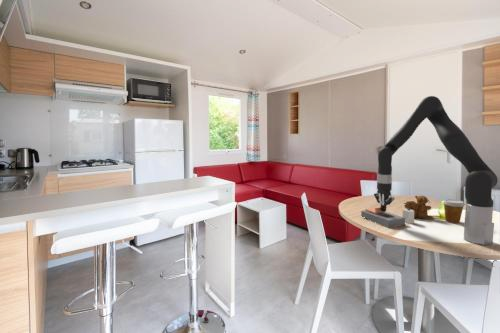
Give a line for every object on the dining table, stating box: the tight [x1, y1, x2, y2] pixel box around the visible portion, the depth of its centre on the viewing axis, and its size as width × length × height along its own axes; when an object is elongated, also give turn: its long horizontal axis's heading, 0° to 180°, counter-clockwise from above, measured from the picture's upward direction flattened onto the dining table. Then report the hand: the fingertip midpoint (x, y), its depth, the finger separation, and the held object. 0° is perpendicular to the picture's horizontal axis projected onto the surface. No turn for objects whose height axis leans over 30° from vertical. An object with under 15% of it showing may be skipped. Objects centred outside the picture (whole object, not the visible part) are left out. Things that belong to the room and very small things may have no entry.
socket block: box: [360, 209, 406, 229], centre depth 147 cm, size 20×12×4 cm, turn 18°
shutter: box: [364, 206, 387, 214], centre depth 152 cm, size 8×7×4 cm
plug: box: [402, 208, 415, 224], centre depth 144 cm, size 4×4×8 cm
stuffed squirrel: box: [403, 195, 434, 220], centre depth 152 cm, size 10×14×13 cm
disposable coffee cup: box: [442, 198, 466, 224], centre depth 143 cm, size 10×10×12 cm
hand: (383, 211), depth 146 cm, fingers closed
